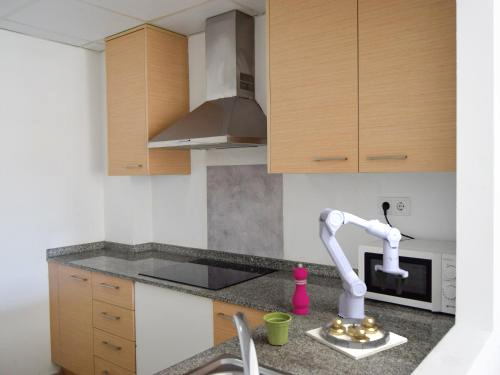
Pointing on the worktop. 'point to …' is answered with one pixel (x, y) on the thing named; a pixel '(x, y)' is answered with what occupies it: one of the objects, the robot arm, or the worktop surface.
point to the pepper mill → (300, 291)
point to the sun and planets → (353, 330)
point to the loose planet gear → (369, 325)
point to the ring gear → (356, 344)
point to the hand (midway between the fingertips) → (391, 291)
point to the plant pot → (277, 327)
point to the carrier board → (357, 353)
